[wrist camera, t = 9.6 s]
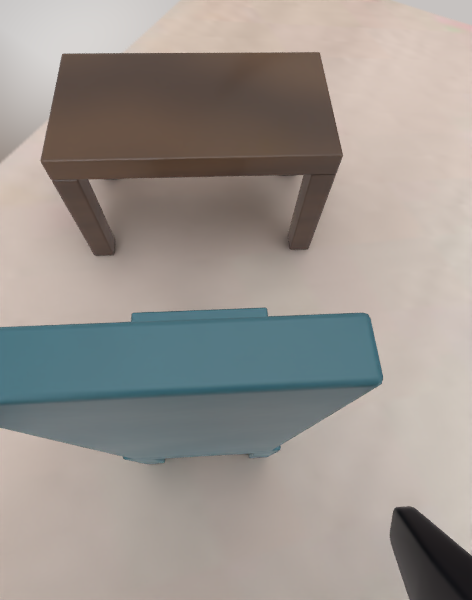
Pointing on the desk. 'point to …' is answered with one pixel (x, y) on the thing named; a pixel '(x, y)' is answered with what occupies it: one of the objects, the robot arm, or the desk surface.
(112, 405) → the chair
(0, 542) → the desk surface
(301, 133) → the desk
